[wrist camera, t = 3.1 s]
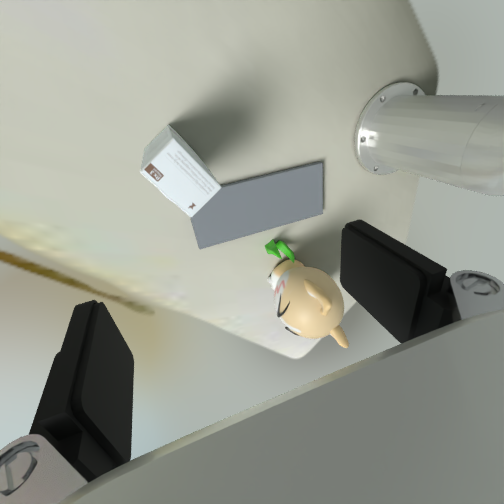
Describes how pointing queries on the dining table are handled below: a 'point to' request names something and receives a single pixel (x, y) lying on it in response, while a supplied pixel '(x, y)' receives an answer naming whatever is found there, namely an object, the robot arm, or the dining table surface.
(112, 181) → the dining table surface
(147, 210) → the dining table surface
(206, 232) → the mat
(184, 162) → the skincare box
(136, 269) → the dining table surface
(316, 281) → the kitten
